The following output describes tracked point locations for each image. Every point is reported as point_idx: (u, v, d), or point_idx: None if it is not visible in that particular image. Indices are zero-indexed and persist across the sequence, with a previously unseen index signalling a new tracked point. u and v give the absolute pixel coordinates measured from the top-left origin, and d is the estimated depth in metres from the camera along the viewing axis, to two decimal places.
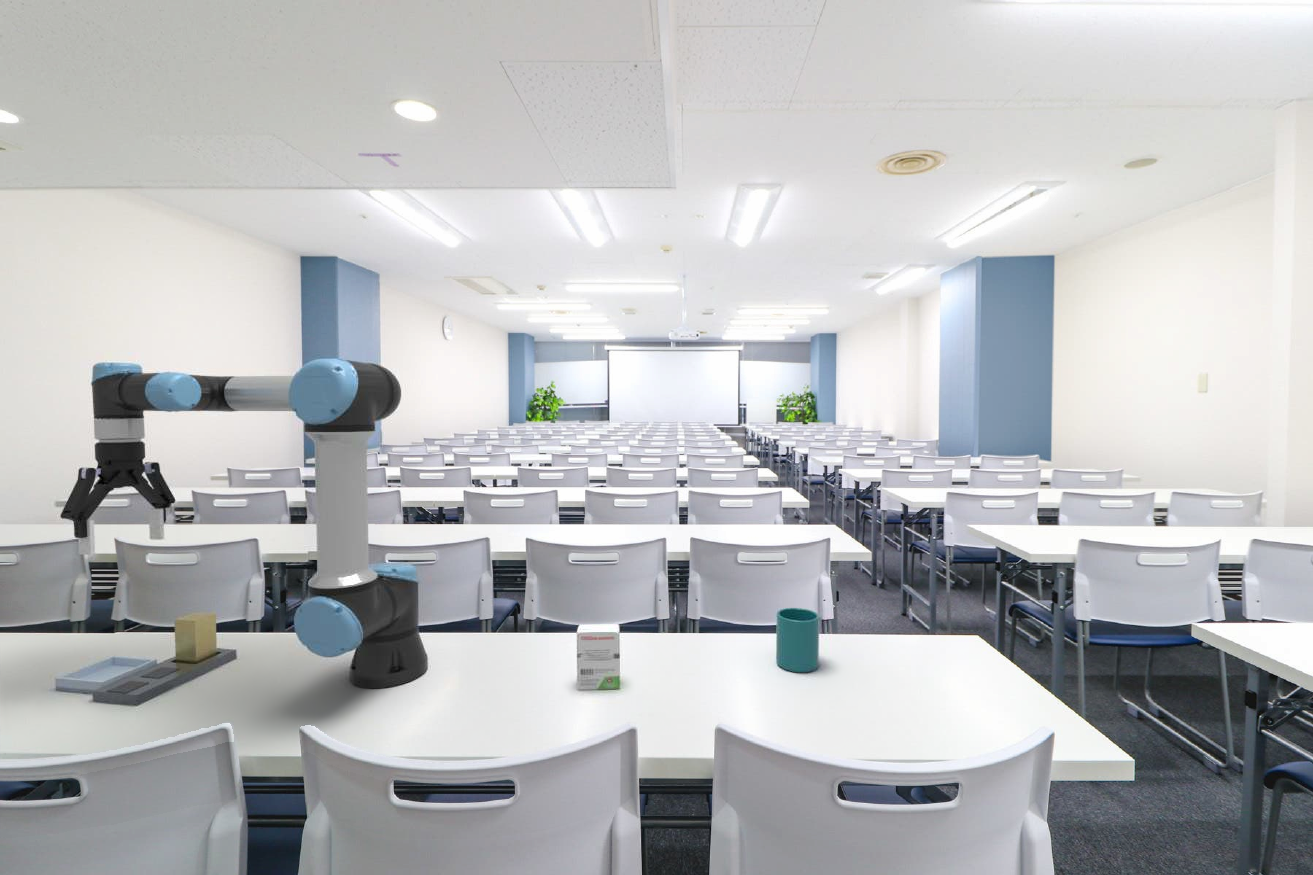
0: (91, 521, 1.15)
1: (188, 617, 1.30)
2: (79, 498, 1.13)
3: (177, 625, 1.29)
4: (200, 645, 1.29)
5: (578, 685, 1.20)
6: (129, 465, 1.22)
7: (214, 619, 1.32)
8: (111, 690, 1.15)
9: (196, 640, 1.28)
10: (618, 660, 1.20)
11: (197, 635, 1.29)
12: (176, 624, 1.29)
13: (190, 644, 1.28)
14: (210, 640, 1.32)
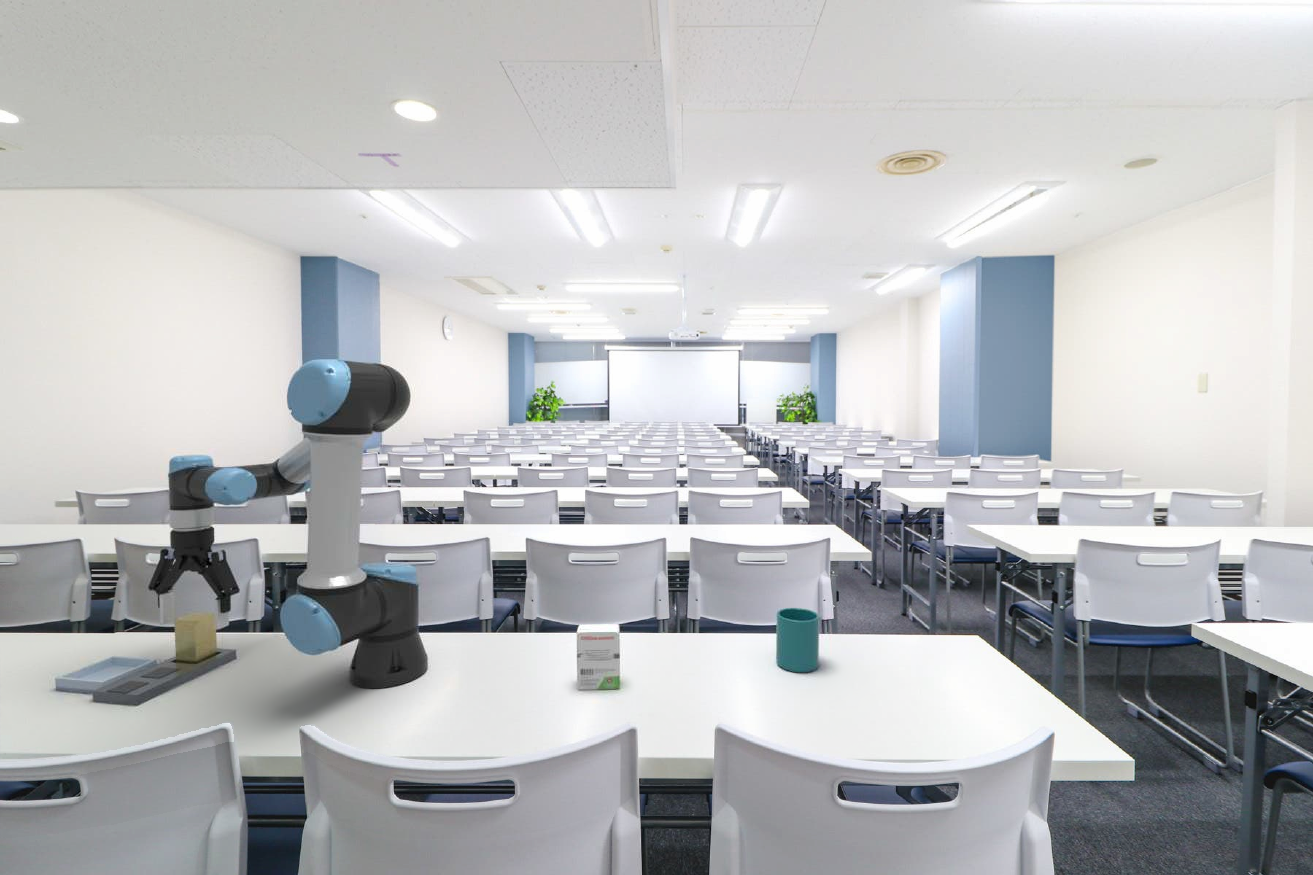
0: (161, 595, 1.30)
1: (188, 617, 1.30)
2: (153, 574, 1.30)
3: (177, 625, 1.29)
4: (200, 645, 1.29)
5: (578, 685, 1.20)
6: (191, 551, 1.29)
7: (214, 619, 1.32)
8: (111, 690, 1.15)
9: (196, 640, 1.28)
10: (618, 660, 1.20)
11: (197, 635, 1.29)
12: (176, 624, 1.29)
13: (190, 644, 1.28)
14: (210, 640, 1.32)
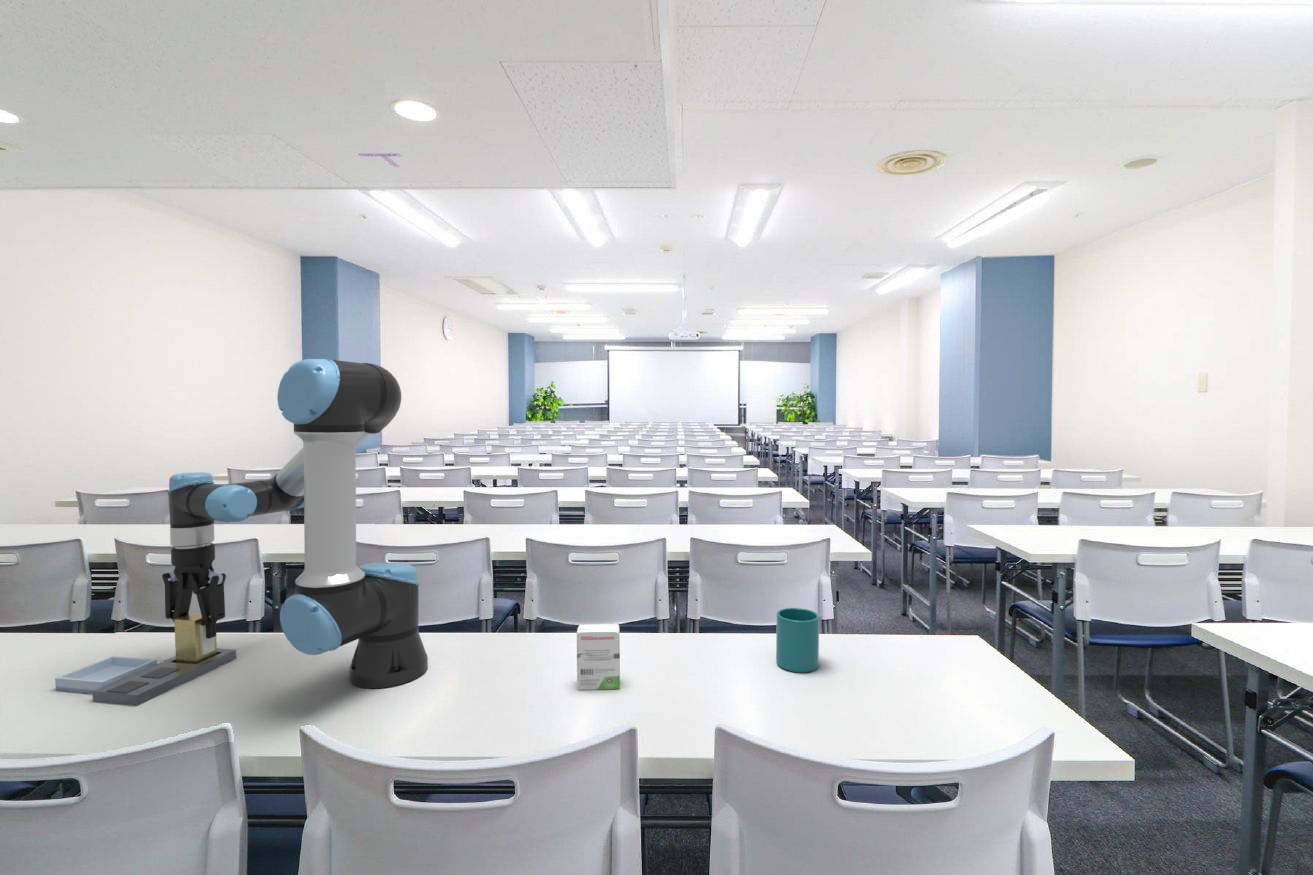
0: None
1: (188, 617, 1.30)
2: (165, 601, 1.30)
3: (177, 625, 1.29)
4: (200, 645, 1.29)
5: (578, 685, 1.20)
6: None
7: None
8: (111, 690, 1.15)
9: (196, 640, 1.28)
10: (618, 660, 1.20)
11: (197, 635, 1.29)
12: (176, 624, 1.29)
13: (190, 643, 1.28)
14: None
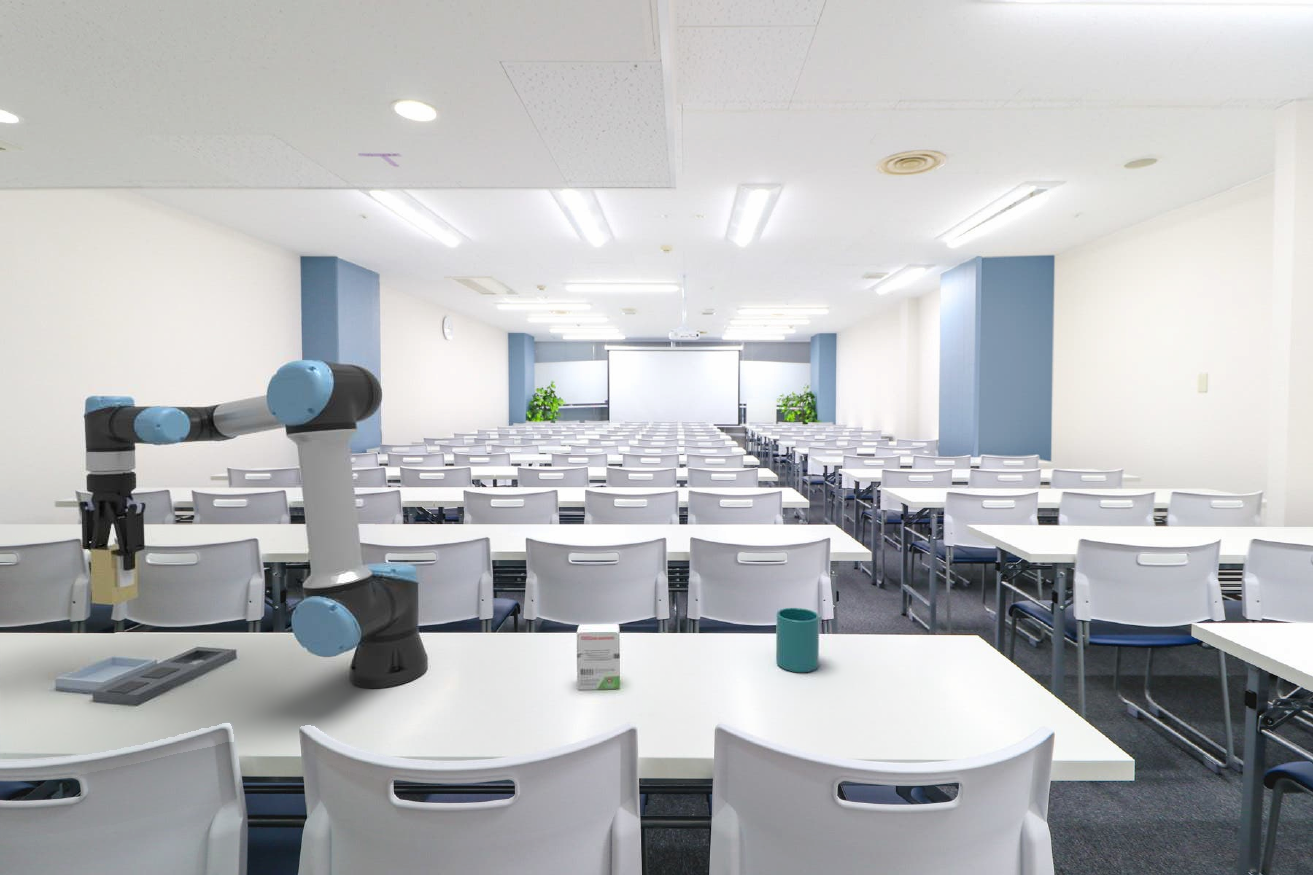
0: None
1: (106, 547, 1.23)
2: (82, 531, 1.24)
3: (93, 555, 1.22)
4: None
5: (578, 685, 1.20)
6: (111, 492, 1.22)
7: None
8: (111, 690, 1.15)
9: (112, 571, 1.22)
10: (618, 660, 1.20)
11: (114, 566, 1.22)
12: (92, 554, 1.22)
13: (106, 575, 1.22)
14: None
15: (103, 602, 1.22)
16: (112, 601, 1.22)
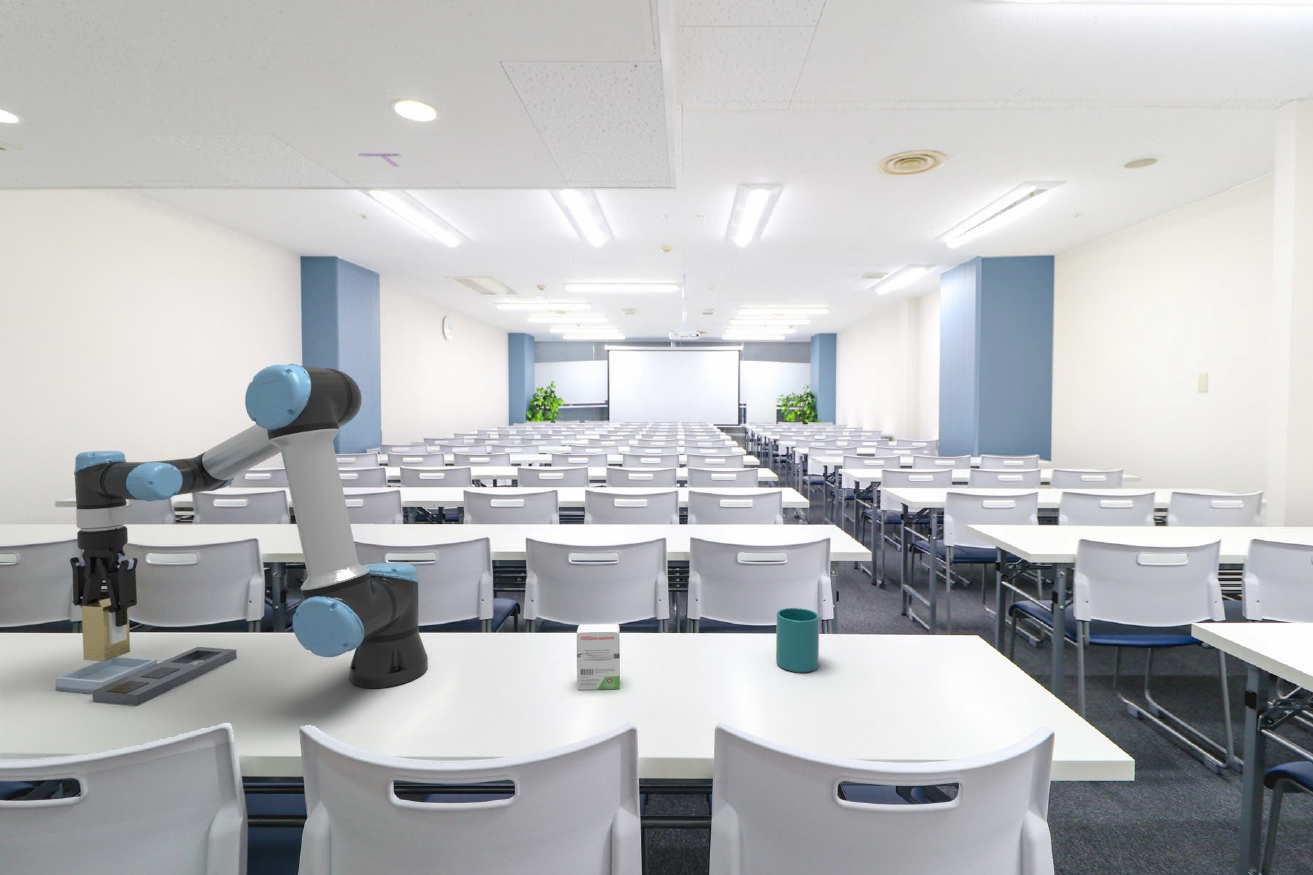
0: None
1: (97, 603, 1.23)
2: (73, 587, 1.23)
3: (84, 612, 1.21)
4: None
5: (578, 685, 1.20)
6: (103, 548, 1.22)
7: None
8: (111, 690, 1.15)
9: (104, 628, 1.21)
10: (618, 660, 1.20)
11: (106, 622, 1.21)
12: (83, 611, 1.21)
13: (98, 632, 1.21)
14: None
15: (95, 659, 1.21)
16: (104, 658, 1.21)
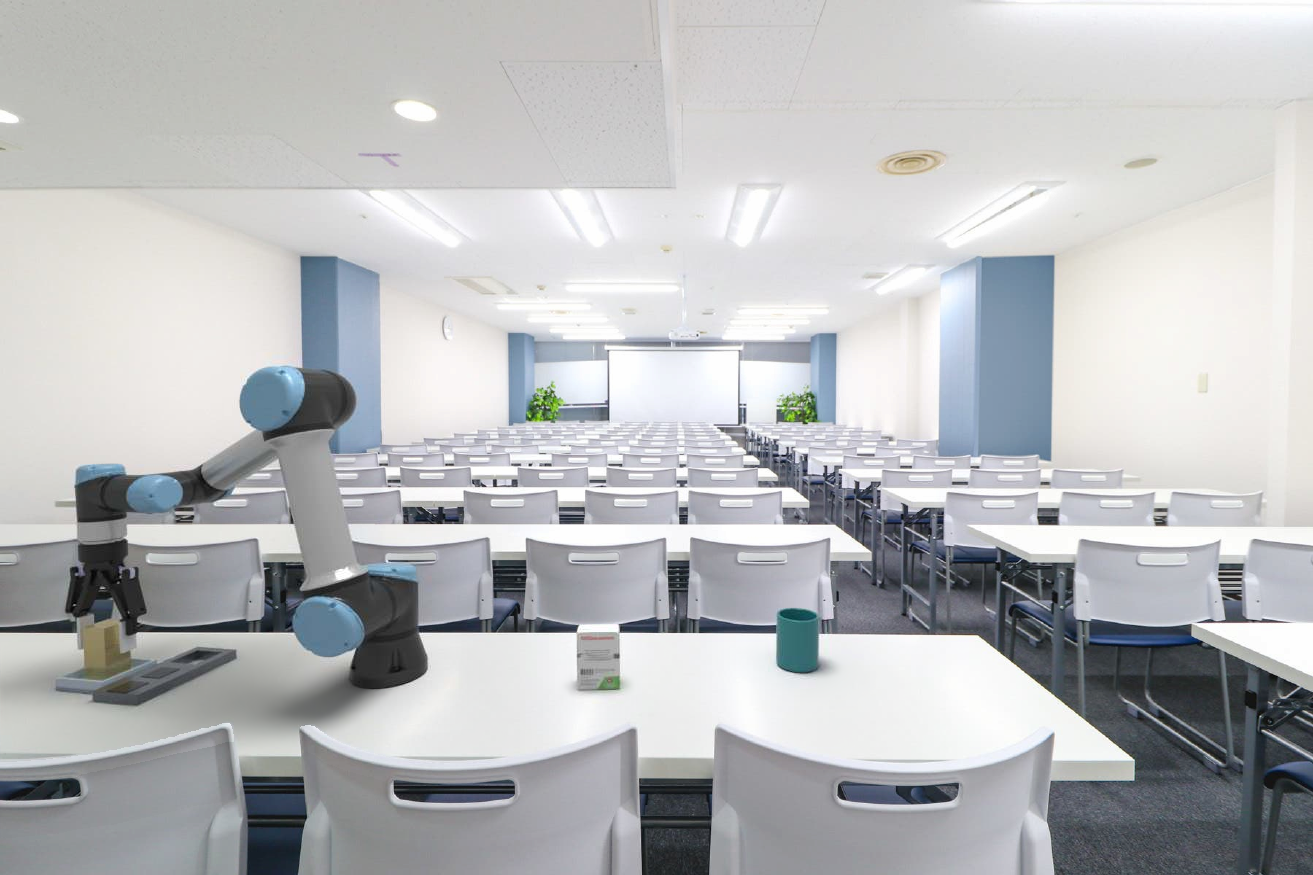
0: (78, 619, 1.23)
1: (98, 625, 1.23)
2: None
3: (86, 633, 1.21)
4: (111, 654, 1.22)
5: (578, 685, 1.20)
6: (102, 563, 1.22)
7: None
8: (111, 690, 1.15)
9: (106, 649, 1.21)
10: (618, 660, 1.20)
11: (107, 643, 1.22)
12: (84, 632, 1.22)
13: (100, 653, 1.21)
14: None
15: None
16: None
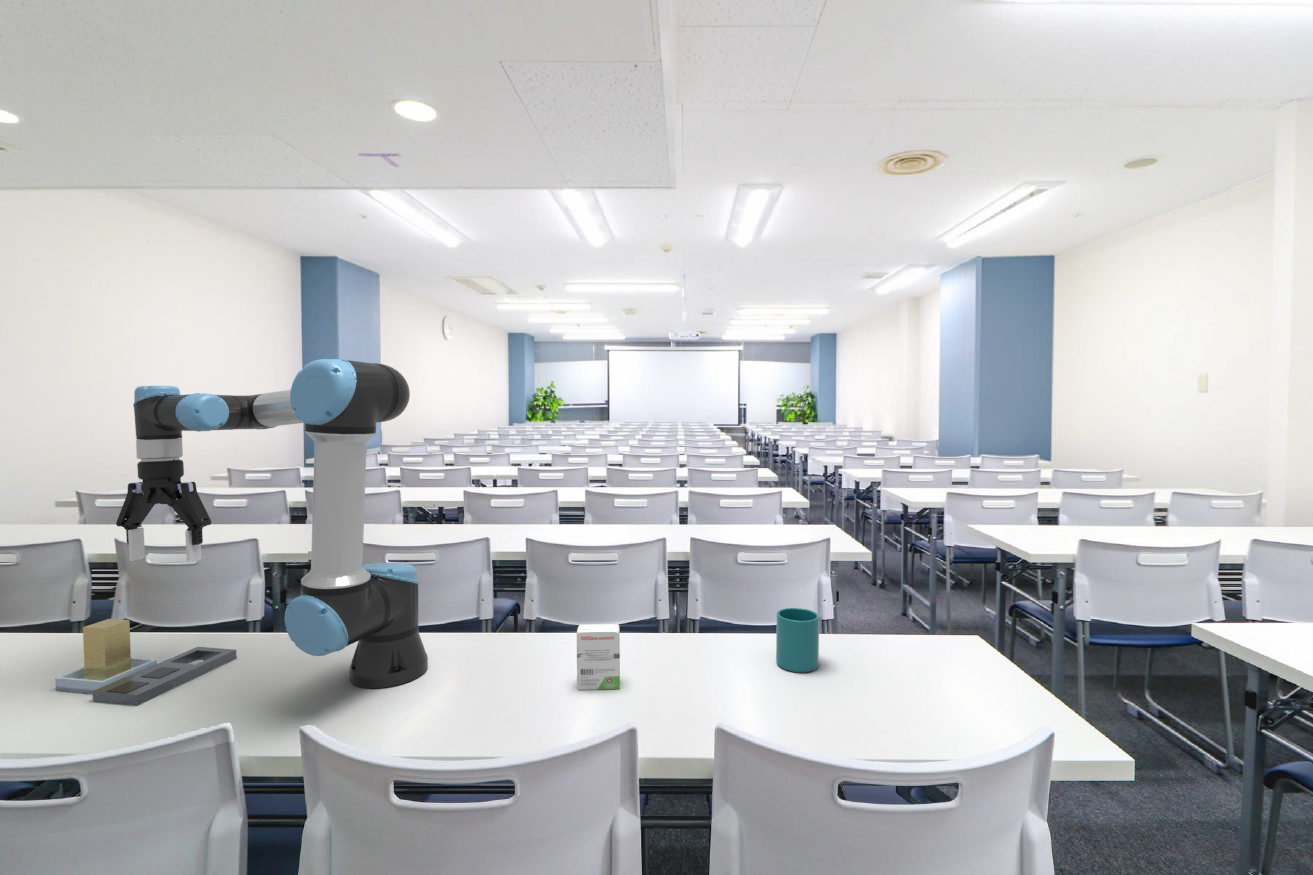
0: (129, 531, 1.27)
1: (98, 625, 1.23)
2: (121, 509, 1.28)
3: (86, 633, 1.21)
4: (111, 654, 1.22)
5: (578, 685, 1.20)
6: (160, 483, 1.26)
7: (127, 626, 1.25)
8: (111, 690, 1.15)
9: (106, 649, 1.21)
10: (618, 660, 1.20)
11: (107, 643, 1.22)
12: (84, 632, 1.22)
13: (100, 653, 1.21)
14: (123, 649, 1.25)
15: None
16: None
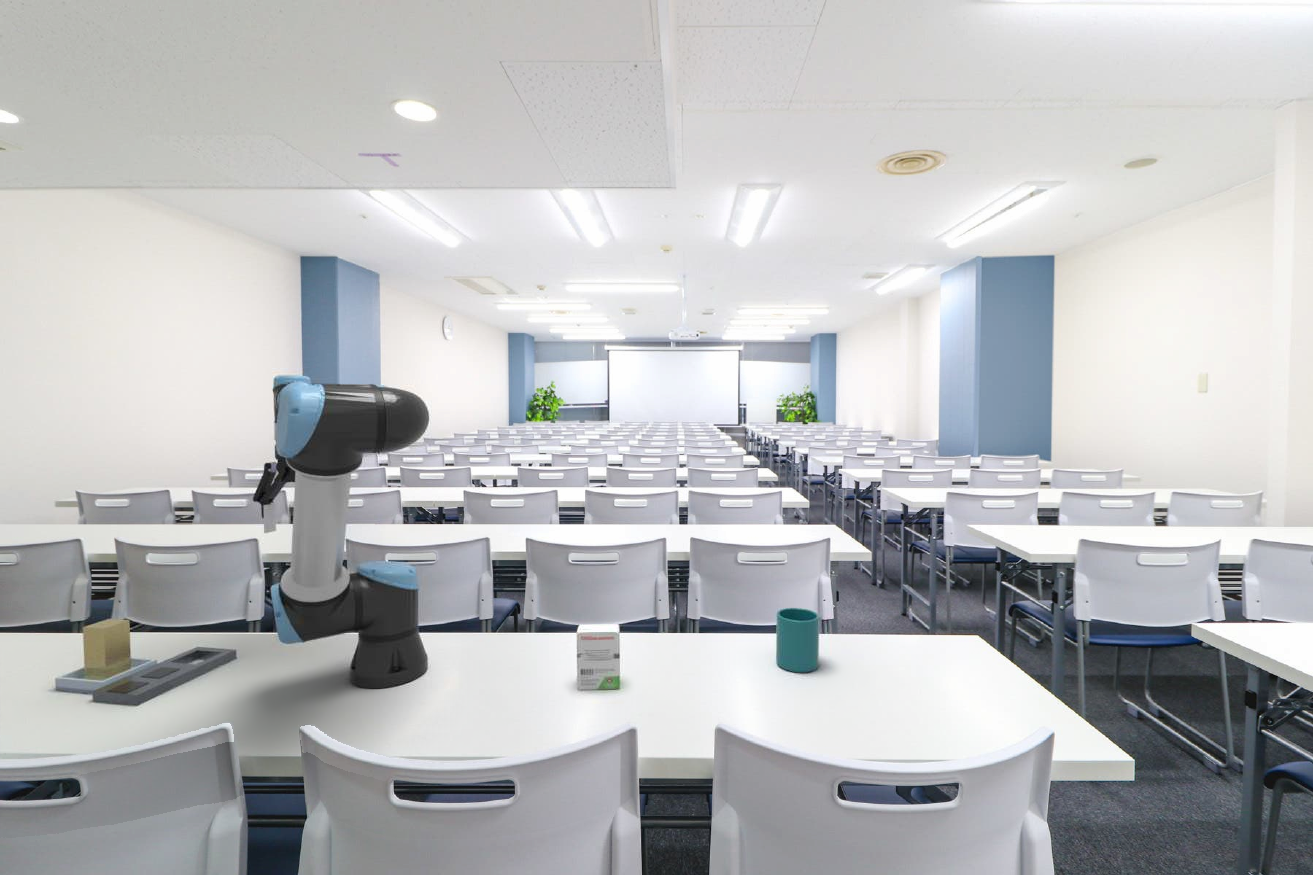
0: (264, 506, 1.41)
1: (98, 625, 1.23)
2: (258, 486, 1.41)
3: (86, 633, 1.21)
4: (111, 654, 1.22)
5: (578, 685, 1.20)
6: None
7: (127, 626, 1.25)
8: (111, 690, 1.15)
9: (106, 649, 1.21)
10: (618, 660, 1.20)
11: (107, 643, 1.22)
12: (84, 632, 1.22)
13: (100, 653, 1.21)
14: (123, 649, 1.25)
15: None
16: None
